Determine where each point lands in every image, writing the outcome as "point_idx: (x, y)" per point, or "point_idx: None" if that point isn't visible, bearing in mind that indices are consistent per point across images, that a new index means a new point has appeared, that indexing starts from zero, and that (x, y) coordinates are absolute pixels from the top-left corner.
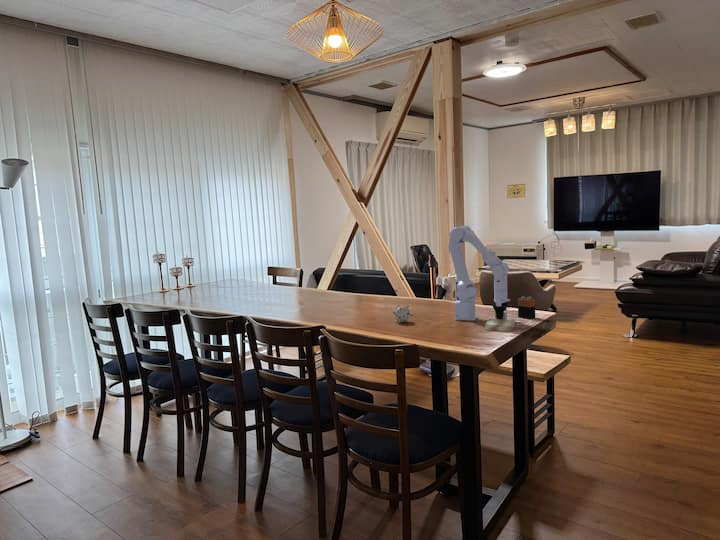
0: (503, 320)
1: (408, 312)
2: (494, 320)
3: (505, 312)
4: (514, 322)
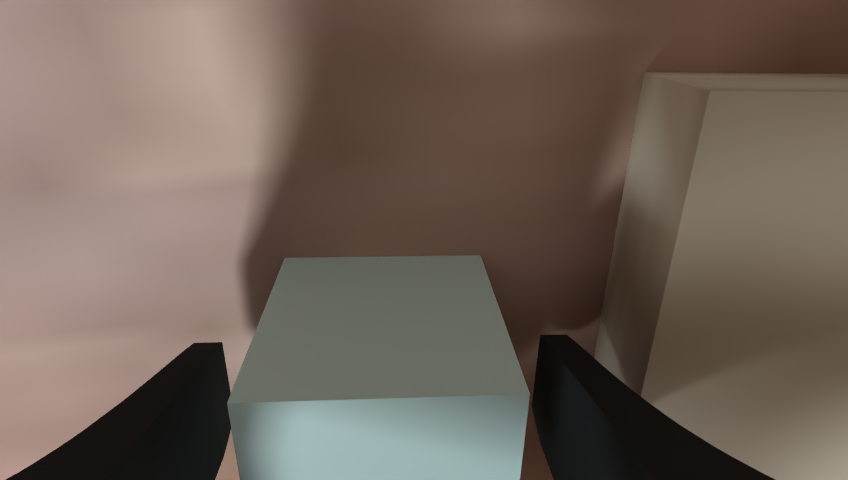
0: (753, 318)
1: None
2: (742, 455)
3: (474, 402)
4: (705, 82)
